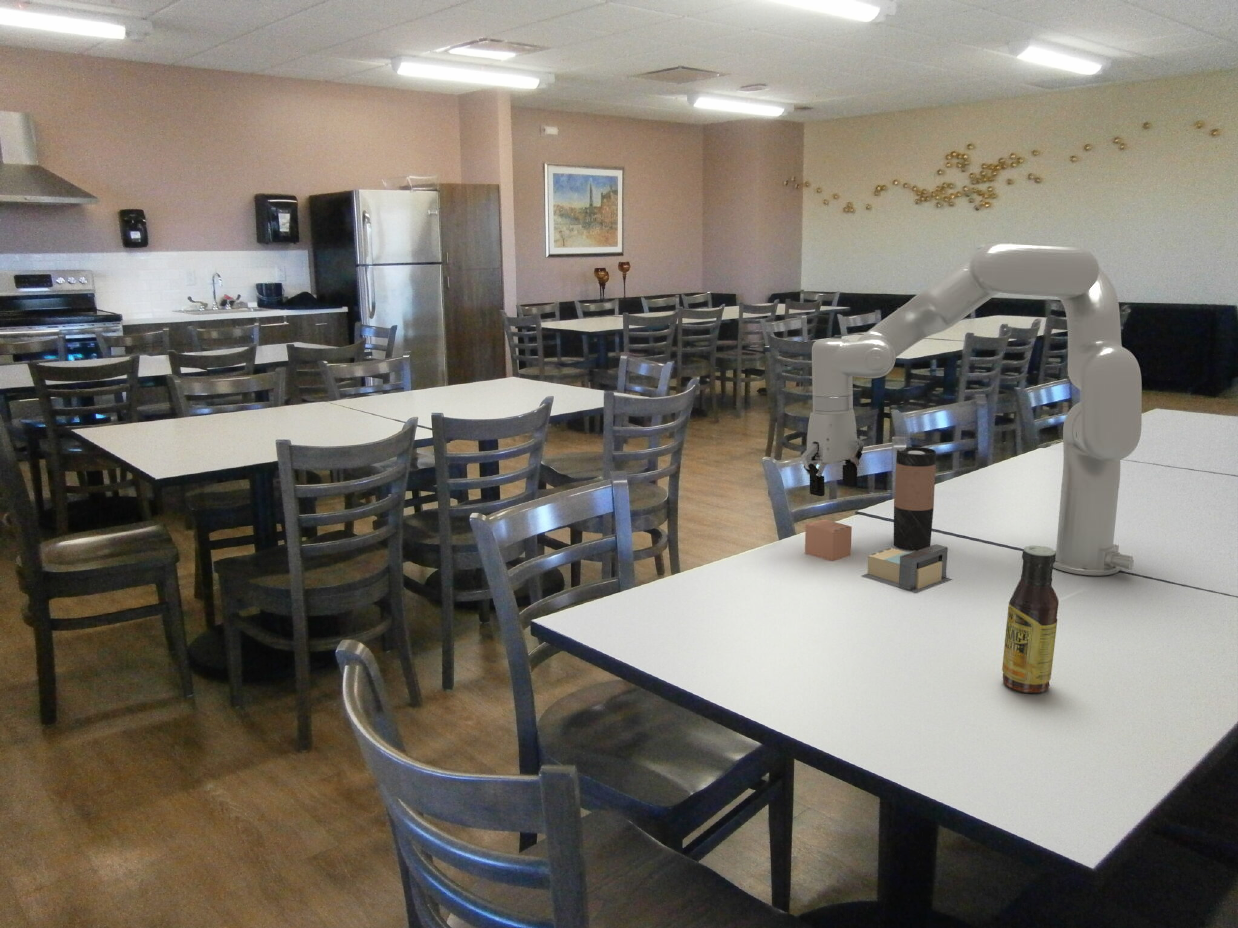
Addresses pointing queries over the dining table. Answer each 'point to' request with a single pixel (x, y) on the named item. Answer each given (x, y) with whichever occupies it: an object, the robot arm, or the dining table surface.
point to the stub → (828, 539)
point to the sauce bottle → (1031, 624)
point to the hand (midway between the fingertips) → (833, 490)
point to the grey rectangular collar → (920, 564)
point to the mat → (898, 583)
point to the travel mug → (914, 498)
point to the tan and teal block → (889, 564)
